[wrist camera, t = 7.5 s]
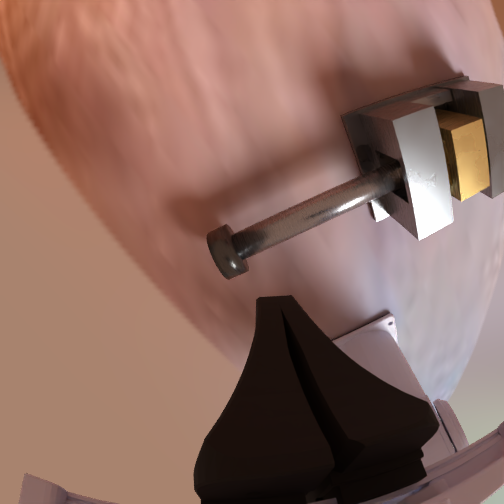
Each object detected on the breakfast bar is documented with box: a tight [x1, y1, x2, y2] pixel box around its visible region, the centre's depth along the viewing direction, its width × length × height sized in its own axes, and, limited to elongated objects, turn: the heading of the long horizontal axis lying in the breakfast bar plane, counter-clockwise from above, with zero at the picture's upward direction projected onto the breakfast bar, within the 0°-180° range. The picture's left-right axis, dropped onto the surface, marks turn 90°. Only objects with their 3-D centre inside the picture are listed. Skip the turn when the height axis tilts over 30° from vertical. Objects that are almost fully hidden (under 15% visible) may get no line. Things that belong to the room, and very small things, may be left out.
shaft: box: [207, 160, 405, 280], centre depth 17 cm, size 14×3×3 cm, turn 116°
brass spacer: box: [435, 109, 490, 201], centre depth 15 cm, size 3×5×5 cm, turn 25°
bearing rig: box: [340, 76, 504, 240], centre depth 16 cm, size 12×8×5 cm, turn 116°
